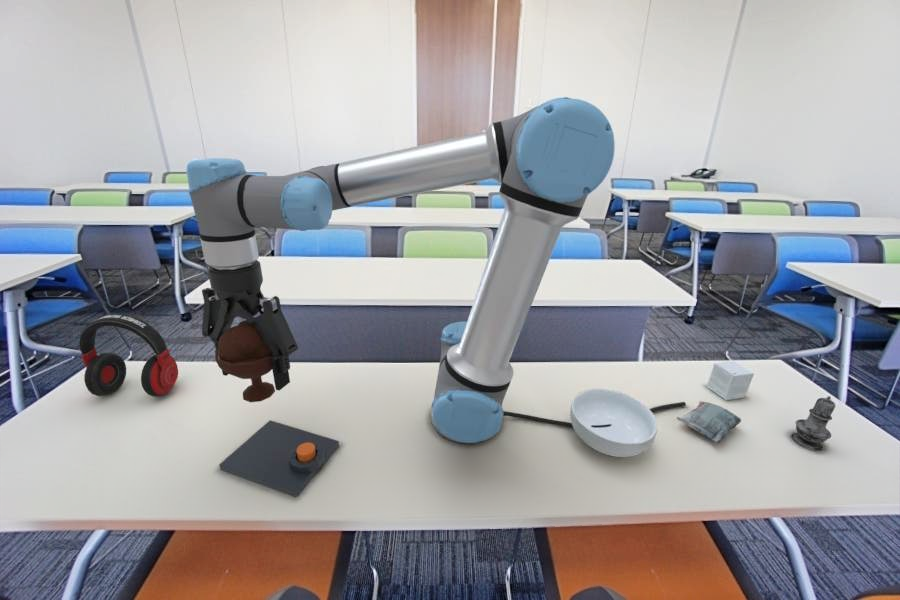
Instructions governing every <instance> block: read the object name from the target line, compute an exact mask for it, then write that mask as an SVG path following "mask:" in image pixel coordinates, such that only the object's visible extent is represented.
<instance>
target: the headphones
mask: <svg viewBox="0 0 900 600" xmlns="http://www.w3.org/2000/svg"><path fill="white" fill-rule="evenodd" d="M108 326H109V327H117V328H121V329H124V330H127V331H129V332H131V333H134V334H135V335H137V336H138V337H140V338H141V339H143V340H144V341H145V342H146V343H147V344H148V346H149V347H150V348H151V350H153V353H155V354H153V355H151V357H149V358H148V359H147V360H146V362H145V363H144V364H143V367H142V370H141V373H140V384H141V387H142V389H143V391H144V392H145V393H146V394H147V395H148V396H149V397H150V396H151V397H162V396H165V395H167V393H169V392H170V391H171V390H172V389H173V387H174V386H175V384H176V382H177V380H178V377H179V368H178V364H177V361H176V360H175V359H174V357H173V356H172V355H171V353H170V349H169V348H168V347H167V344H166V342H165V339H164V338H163V336H162V335H161V333H159V331H158V330H156V328H154V327H153V326H152V325H151V324H149V323H148V322H147V321H145V320H144V319H143V320H142V319H140V318H139V317H136V316H133V315H131V314H127V313H110V314H105V315H103V316H101V317H98V318H97V319H95V320H94V321H92V322H90V323H89V324H87V325H86V326H85V327H84V328H83V329H82V330H81V333H80V335H79V339H78V344H79V345H78V347H79V351H80V353H81V355H80V357H81V359H82V361H83V364H84V366H85V372H84V375H83V379H84V380H83V381H84V385H85V387H86V389H87V391H88V392H89V393H90V394H92V395H94V396H96V397H107V396H112V395H113V394H115V393H116V392H118V390H119V389H120V388H121V387H122V386H123V385H124V382H125V379H126V376H127V364H126V362H125V360H124V359H123V357H121V355H120V354H118V353H114V352H104V353H100V354H98V353H97V350H96V349H97V348H96V347H95V346H96V345H95V343H96V335H97V331H98V330H99V329H101V328H103V327H108Z"/></svg>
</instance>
